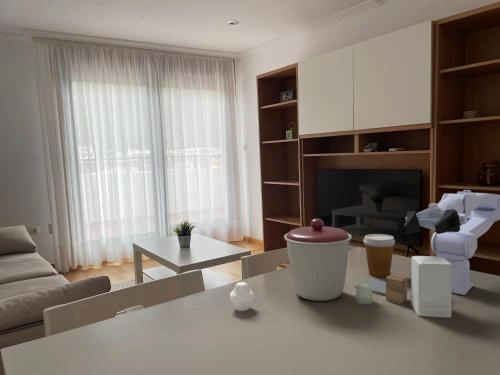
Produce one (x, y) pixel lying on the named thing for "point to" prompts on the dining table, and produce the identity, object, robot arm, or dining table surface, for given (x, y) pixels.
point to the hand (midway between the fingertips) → (420, 229)
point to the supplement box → (431, 286)
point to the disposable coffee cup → (379, 254)
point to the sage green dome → (364, 294)
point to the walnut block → (396, 288)
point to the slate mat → (376, 286)
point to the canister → (318, 260)
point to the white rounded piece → (241, 296)
